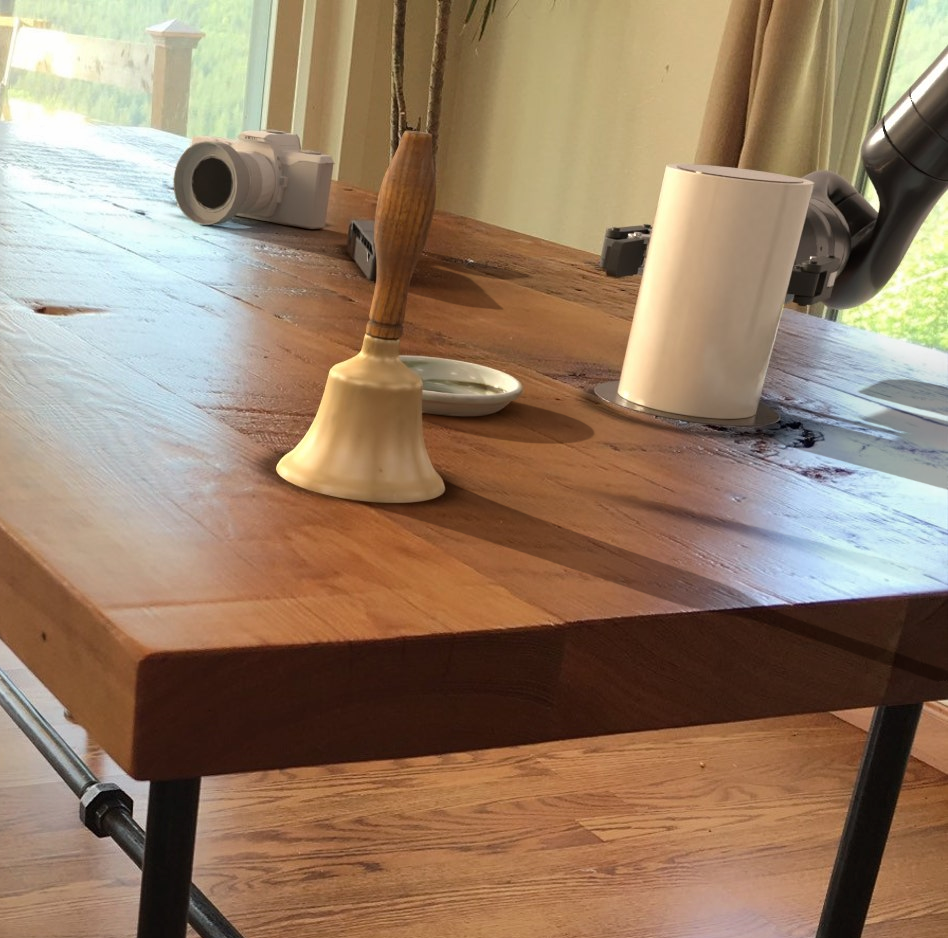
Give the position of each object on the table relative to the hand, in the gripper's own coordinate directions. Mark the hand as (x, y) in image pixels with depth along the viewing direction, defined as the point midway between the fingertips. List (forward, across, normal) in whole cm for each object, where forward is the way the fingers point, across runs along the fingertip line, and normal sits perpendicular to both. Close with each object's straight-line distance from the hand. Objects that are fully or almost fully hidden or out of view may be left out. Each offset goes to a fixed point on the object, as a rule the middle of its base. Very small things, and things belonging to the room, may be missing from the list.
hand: (678, 271), depth 102 cm
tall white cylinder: (+3, +3, +7) cm, 8 cm away
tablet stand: (-27, -36, +8) cm, 46 cm away
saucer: (+19, -6, +8) cm, 21 cm away
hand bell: (+36, -1, +8) cm, 36 cm away
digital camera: (-39, -60, +8) cm, 72 cm away
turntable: (+5, +4, +8) cm, 10 cm away
